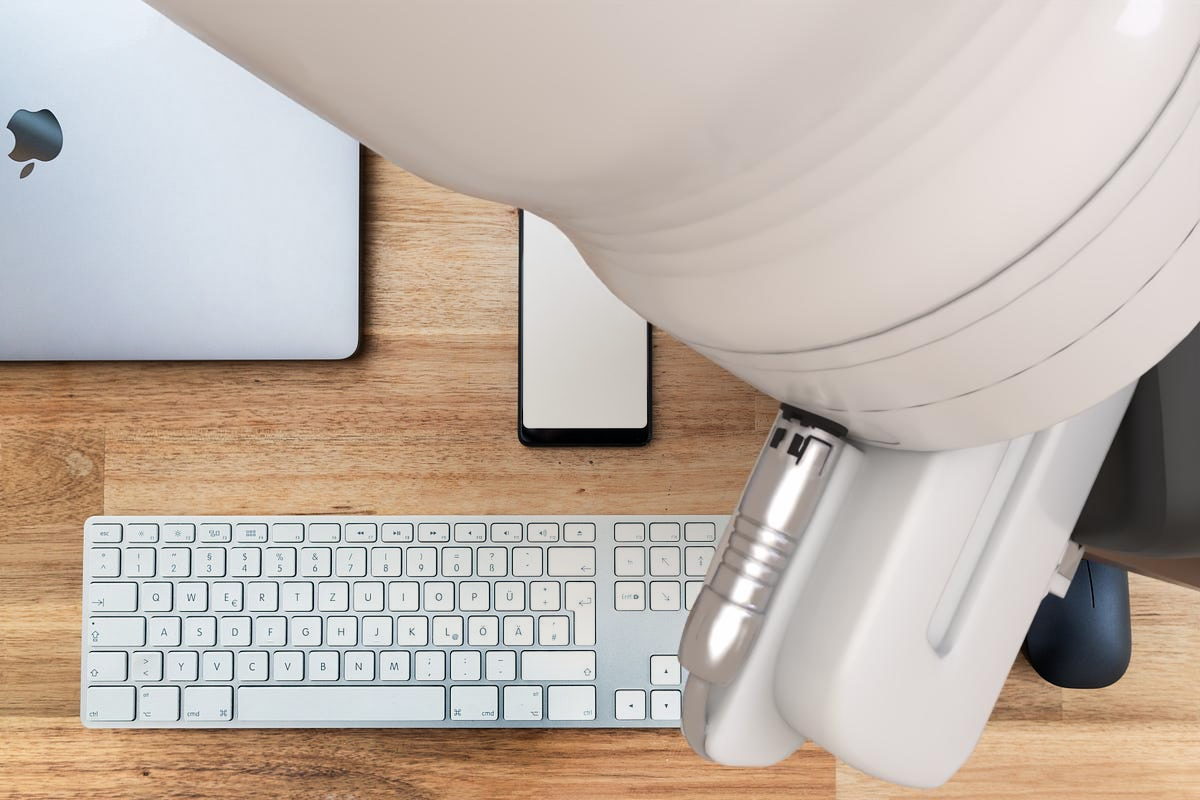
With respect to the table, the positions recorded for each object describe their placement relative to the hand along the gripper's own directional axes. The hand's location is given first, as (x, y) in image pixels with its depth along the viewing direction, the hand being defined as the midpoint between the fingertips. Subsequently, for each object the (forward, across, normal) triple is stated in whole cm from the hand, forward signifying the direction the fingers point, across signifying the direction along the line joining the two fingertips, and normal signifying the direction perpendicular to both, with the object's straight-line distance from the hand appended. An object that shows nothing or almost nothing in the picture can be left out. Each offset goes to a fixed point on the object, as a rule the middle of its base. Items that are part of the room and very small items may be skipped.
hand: (1109, 416), depth 23 cm
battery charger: (+4, 0, +5) cm, 6 cm away
